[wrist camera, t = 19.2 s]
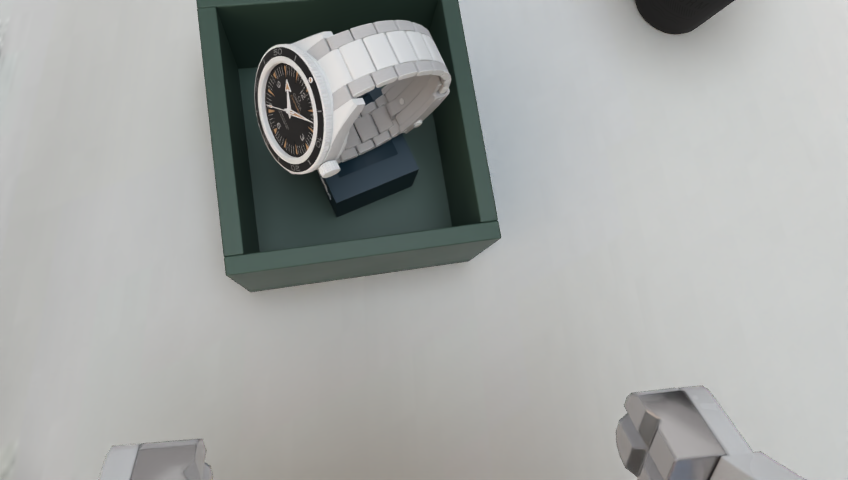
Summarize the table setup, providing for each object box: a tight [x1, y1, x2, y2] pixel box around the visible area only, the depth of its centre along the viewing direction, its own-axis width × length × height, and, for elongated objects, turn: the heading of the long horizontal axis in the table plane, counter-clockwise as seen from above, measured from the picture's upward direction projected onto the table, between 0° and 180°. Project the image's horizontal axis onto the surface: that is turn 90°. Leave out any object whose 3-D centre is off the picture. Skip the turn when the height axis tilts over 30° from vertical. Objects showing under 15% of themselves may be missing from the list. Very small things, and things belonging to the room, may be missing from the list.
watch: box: [254, 20, 451, 217], centre depth 27 cm, size 6×8×11 cm
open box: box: [196, 0, 501, 292], centre depth 30 cm, size 13×12×7 cm
